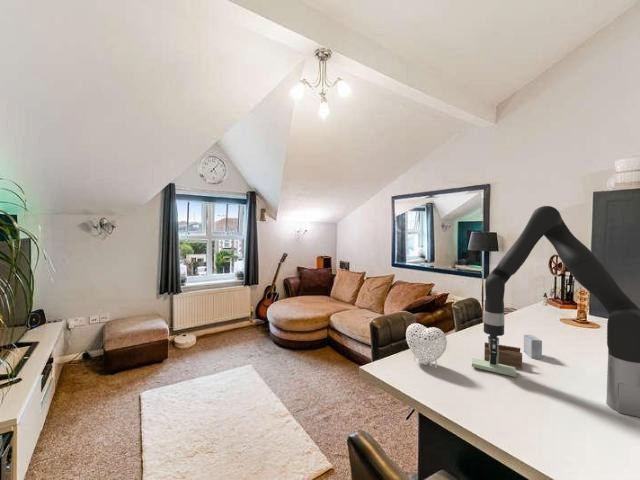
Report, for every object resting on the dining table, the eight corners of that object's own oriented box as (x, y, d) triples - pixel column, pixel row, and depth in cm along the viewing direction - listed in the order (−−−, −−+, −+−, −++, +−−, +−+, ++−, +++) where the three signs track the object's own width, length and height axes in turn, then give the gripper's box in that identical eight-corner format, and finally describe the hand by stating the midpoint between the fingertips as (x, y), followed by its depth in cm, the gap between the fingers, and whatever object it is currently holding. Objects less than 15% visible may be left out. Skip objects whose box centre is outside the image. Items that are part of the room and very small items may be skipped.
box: (521, 368, 128) (522, 354, 127) (484, 361, 134) (484, 348, 134) (519, 361, 136) (520, 347, 135) (484, 354, 142) (484, 341, 142)
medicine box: (542, 359, 138) (542, 340, 137) (531, 358, 138) (531, 340, 138) (533, 352, 145) (534, 334, 145) (523, 351, 146) (523, 334, 146)
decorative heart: (400, 361, 134) (401, 323, 134) (412, 354, 142) (412, 318, 141) (440, 375, 122) (440, 333, 121) (450, 367, 129) (451, 327, 129)
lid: (516, 377, 120) (517, 359, 119) (471, 366, 127) (472, 349, 127) (514, 370, 125) (516, 353, 125) (472, 360, 133) (473, 344, 132)
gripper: (505, 328, 118) (504, 371, 118) (503, 319, 130) (502, 358, 131) (483, 325, 121) (482, 367, 122) (483, 316, 134) (482, 355, 134)
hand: (493, 362), depth 126 cm, fingers closed on lid, 2 cm apart
